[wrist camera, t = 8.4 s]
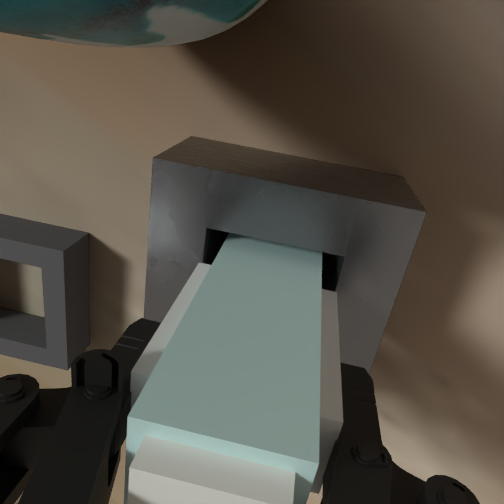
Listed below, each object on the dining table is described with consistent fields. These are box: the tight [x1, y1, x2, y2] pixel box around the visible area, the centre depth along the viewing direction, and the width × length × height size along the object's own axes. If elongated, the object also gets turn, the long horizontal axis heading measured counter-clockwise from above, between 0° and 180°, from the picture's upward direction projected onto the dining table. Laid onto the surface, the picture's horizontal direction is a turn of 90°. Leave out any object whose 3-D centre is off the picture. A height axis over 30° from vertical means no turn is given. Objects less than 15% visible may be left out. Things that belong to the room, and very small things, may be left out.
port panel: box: [144, 136, 427, 374], centre depth 19 cm, size 10×10×6 cm
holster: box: [0, 214, 90, 370], centre depth 24 cm, size 8×8×2 cm
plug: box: [124, 233, 322, 504], centre depth 15 cm, size 4×4×13 cm
